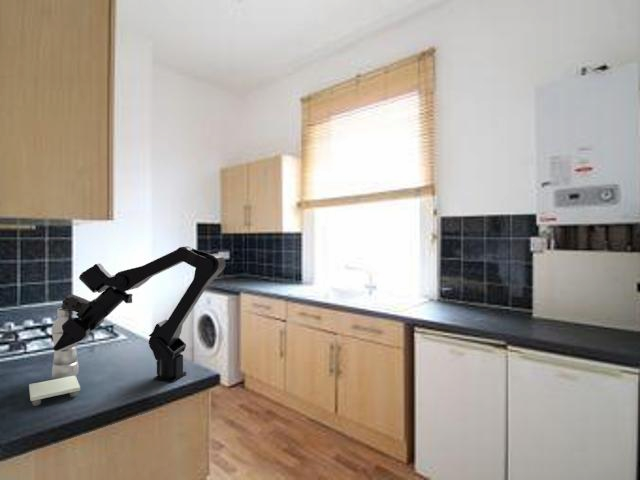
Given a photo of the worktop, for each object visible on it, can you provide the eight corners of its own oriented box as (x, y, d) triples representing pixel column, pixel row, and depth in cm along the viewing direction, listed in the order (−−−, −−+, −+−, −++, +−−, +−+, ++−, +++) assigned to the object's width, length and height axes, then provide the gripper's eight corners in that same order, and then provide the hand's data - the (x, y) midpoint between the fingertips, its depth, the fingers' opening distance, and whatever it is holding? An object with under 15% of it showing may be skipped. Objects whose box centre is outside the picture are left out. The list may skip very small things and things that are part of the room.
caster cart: (75, 384, 103) (75, 375, 103) (80, 397, 96) (80, 387, 96) (29, 393, 97) (29, 384, 97) (30, 408, 89) (30, 397, 89)
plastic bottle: (80, 373, 111) (79, 305, 111) (77, 381, 105) (77, 309, 105) (53, 377, 108) (53, 307, 108) (49, 385, 102) (49, 312, 102)
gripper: (92, 280, 117) (50, 318, 114) (71, 289, 99) (21, 334, 96) (120, 305, 119) (80, 342, 116) (104, 318, 101) (57, 363, 98)
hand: (60, 344), depth 106 cm, fingers open, 9 cm apart
